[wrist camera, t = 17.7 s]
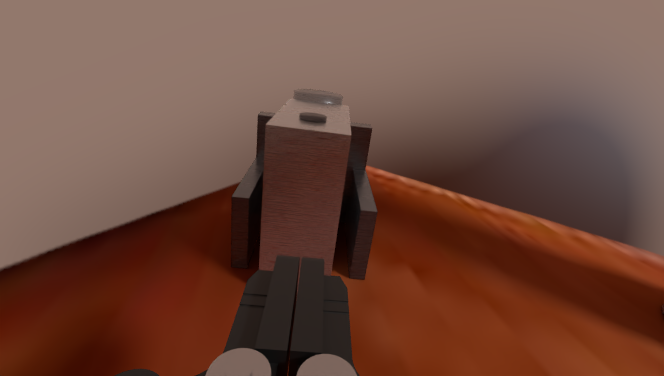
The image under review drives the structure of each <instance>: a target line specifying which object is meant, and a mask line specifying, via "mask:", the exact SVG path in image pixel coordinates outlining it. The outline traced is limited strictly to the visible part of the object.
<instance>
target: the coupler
mask: <svg viewBox="0 0 664 376" xmlns="http://www.w3.org/2000/svg"><path fill="white" fill-rule="evenodd" d="M294 99H298V100H306V101H314V102H322V103H329V104H337V105H342V99H343V96H342V95H340V94H337V93H333V92H327V91H321V90H311V89H297V90H294ZM274 115H275V113H268V112H260V113H259V114H258V127H257V128H258V129H257V155H256V159H255V160H254V162H253V163H252V165H251V166H250V168H249V170H248V172H247V173H246V174H245V176H244V178H243V180H242V181H241V182H240V184H239V186H238V187H237V189H236V190H235V192H234V194H233V195H232V222H231V267H237V268H247V266H248V264H249V261H250V258H251V255H252V253H253V250H254V247H255V244H256V241H257V239H258V236H259V233H260V230H261V215H262V193H263V172H264V150H265V129H266V124H267V123H268V121H269V120H270V119H271V118H272V117H273V116H274ZM350 125H351V142H350V149H349V156H348V162H347V169H346V176H345V183H344V190H343V197H342V203H341V210H340V217H339V222H342V223H345V234H346V246H347V257H348V269H349V278H353V279H365V274H366V269H367V263H368V258H369V253H370V248H371V243H372V237H373V232H374V227H375V222H376V217H377V209H376V205H375V202H374V198H373V194H372V191H371V187H370V184H369V180H368V177H367V173H366V170H365V168H366V162H367V156H368V150H369V144H370V138H371V133H372V127H371V125H369V124H360V123H352V122H350Z"/></svg>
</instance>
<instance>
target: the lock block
mask: <svg viewBox="0 0 664 376" xmlns="http://www.w3.org/2000/svg"><path fill="white" fill-rule="evenodd" d="M350 142H351V125H350V114H349V106H345V105H337V104H329V103H322V102H314V101H306V100H298V99H289V100H288V101H287V102H286V103H285V104H284V106H282V108H281V109H280V110H279V111H278V112H277V113H276V114H275V115H274V116H273V117H272V118H271V119H270V120H269V121H268V123H267V124H266V129H265V150H264V172H263V193H262V215H261V236H260V257H259V270H266V271H273V269H274V265H275V261H276V257H277V255H284V256H295V257H300V263H299V275H298V284H299V276H300V268H301V260H302V257H308V258H320V259H324V275H328V276H331V272H332V265H333V258H334V251H335V244H336V238H337V231H338V224H339V217H340V210H341V203H342V197H343V190H344V183H345V176H346V169H347V162H348V156H349V149H350ZM297 292H298V287H297Z"/></svg>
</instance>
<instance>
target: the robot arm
mask: <svg viewBox="0 0 664 376" xmlns="http://www.w3.org/2000/svg"><path fill="white" fill-rule="evenodd" d="M299 263H300V257H295V256H284V255H277V257H276V261H275V265H274V269H273V271H266V270H257V271H256V272H255V273H254V274H253V275H252V276H251V277H250V278H249V279H248V281H247V284H246V287H245V290H244V293H243V296H242V299H241V302H240V306H239V308H238V311H237V314H236V317H235V320H234V323H233V326H232V329H231V332H230V335H229V338H228V341H227V344H226V347H225V349H224V352H223V354H222V355H220V356H219V357H217V358H216V359H215V360H214V361H213V363H212V364H211V365H210V367H209V369H207V370H206V371H204V372H202V373H200V374H198V375H196V376H287V374H288V376H359V374H358V373H357V371H356V369H355V367H354V364H353V360H352V350H351V336H350V321H349V307H348V293H347V287H346V286H345V284H344V282H343V281H342V279H341V278H340V276H328V275H324V259H320V258H308V257H302V260H301V268H300V276H299V284H298V275H299ZM297 287H298V292H297ZM296 299H297V300H296ZM662 312H663V314H664V304H663V305H662ZM289 358H290V360H289ZM288 366H289V372H288ZM115 376H159V375H158V374H157V373H155V372H153V371H150V370H146V369H134V370H128V371H125V372H122V373H120V374H117V375H115Z"/></svg>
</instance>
